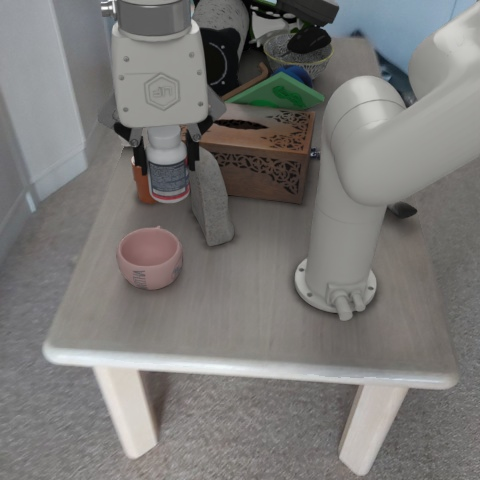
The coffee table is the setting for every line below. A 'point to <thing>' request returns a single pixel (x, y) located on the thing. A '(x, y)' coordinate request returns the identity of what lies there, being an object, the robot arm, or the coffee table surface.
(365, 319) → the coffee table surface
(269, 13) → the toy tank
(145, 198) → the orange cylinder
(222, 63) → the speaker
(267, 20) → the figurine
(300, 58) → the bowl
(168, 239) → the mug
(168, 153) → the pill bottle
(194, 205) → the decorative stone
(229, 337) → the coffee table surface
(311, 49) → the gaming mouse
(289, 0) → the motorcycle dashboard
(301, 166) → the tissue box cover
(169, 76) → the robot arm
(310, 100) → the toy
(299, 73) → the bomb
